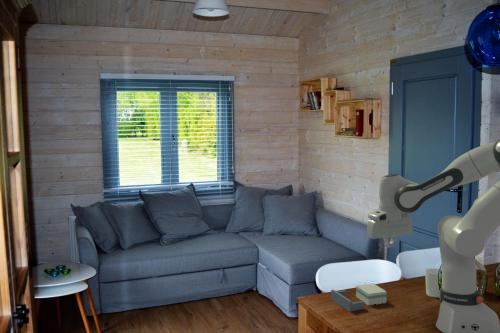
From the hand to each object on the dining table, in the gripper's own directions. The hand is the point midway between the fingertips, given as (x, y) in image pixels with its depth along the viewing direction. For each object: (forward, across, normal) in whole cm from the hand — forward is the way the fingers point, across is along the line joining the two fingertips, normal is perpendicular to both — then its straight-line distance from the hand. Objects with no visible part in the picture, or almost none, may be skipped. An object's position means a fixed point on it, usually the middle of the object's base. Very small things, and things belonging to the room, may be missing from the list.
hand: (389, 246), depth 202 cm
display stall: (+21, +20, 0) cm, 29 cm away
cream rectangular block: (+21, +9, 0) cm, 23 cm away
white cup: (+21, -18, +6) cm, 29 cm away
